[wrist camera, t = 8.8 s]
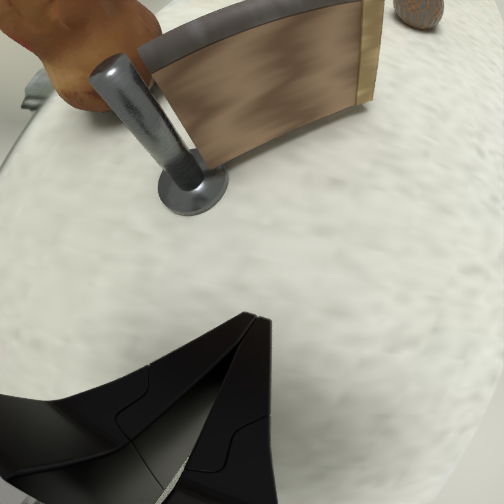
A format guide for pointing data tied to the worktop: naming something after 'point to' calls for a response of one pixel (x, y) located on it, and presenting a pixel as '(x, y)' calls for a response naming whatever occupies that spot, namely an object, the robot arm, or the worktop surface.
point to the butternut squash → (80, 40)
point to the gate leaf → (265, 69)
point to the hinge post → (159, 139)
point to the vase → (420, 12)
